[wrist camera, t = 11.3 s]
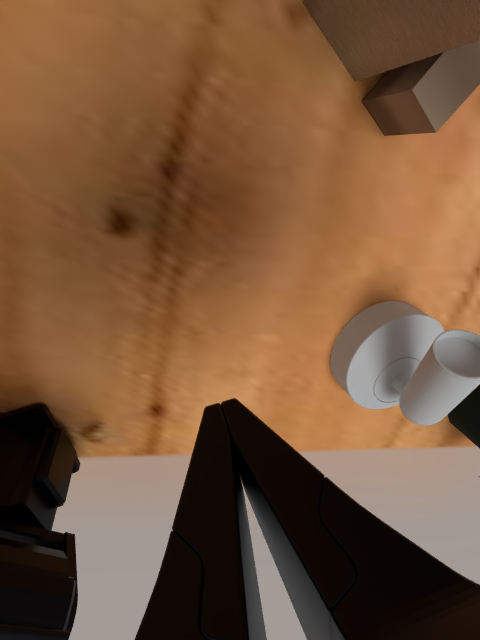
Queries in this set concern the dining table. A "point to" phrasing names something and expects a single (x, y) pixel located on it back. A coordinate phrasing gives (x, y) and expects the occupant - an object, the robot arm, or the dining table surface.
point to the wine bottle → (468, 416)
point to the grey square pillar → (394, 30)
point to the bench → (424, 91)
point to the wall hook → (405, 362)
